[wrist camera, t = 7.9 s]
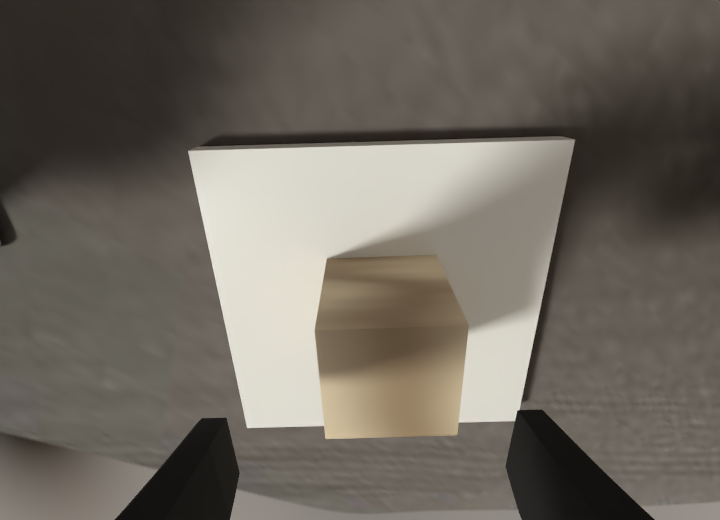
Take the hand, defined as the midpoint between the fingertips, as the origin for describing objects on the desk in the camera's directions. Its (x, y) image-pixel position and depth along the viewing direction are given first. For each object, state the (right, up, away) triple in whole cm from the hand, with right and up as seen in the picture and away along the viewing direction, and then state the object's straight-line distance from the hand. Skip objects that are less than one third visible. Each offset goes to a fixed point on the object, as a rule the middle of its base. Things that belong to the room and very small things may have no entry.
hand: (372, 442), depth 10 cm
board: (+1, +3, +8) cm, 9 cm away
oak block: (+1, +3, +7) cm, 7 cm away
